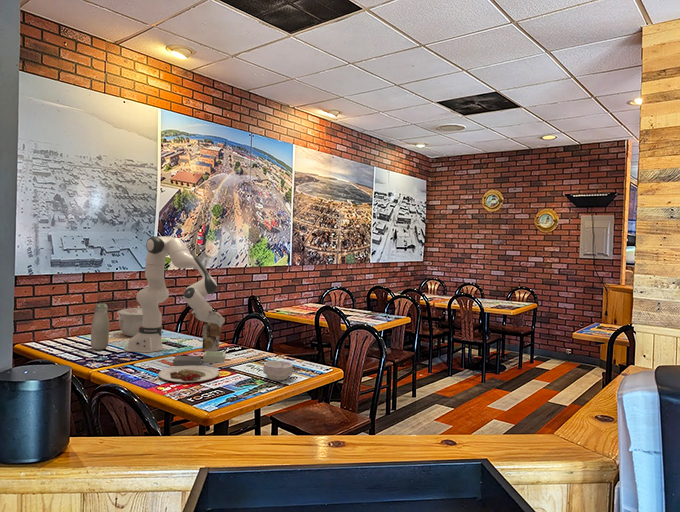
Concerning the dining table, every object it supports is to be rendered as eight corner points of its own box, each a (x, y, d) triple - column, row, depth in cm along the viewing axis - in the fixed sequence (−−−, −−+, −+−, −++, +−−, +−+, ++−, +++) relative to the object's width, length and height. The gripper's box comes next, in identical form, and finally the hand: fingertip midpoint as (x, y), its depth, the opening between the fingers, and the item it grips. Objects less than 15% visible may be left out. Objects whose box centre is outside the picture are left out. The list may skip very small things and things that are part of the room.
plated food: (197, 365, 274) (197, 359, 274) (231, 377, 255) (231, 371, 255) (146, 375, 251) (146, 368, 250) (179, 389, 232) (180, 382, 231)
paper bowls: (296, 376, 262) (296, 361, 262) (286, 384, 248) (287, 368, 247) (269, 373, 266) (269, 358, 266) (258, 380, 251) (259, 365, 251)
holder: (202, 361, 282) (203, 356, 282) (204, 356, 294) (204, 351, 294) (224, 362, 284) (224, 356, 284) (225, 357, 296) (225, 351, 296)
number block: (215, 336, 285) (216, 319, 285) (209, 335, 288) (210, 318, 288) (221, 335, 289) (221, 319, 288) (215, 334, 291) (215, 317, 291)
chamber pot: (131, 340, 325) (132, 309, 325) (107, 334, 340) (108, 305, 340) (167, 335, 349) (168, 306, 348) (143, 329, 364) (144, 302, 363)
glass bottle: (93, 352, 290) (94, 305, 289) (88, 348, 298) (90, 302, 297) (110, 350, 297) (112, 304, 296) (105, 347, 304) (107, 302, 303)
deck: (173, 365, 270) (173, 360, 270) (175, 361, 280) (176, 355, 280) (199, 365, 273) (199, 360, 273) (201, 361, 283) (201, 356, 283)
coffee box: (219, 349, 314) (220, 324, 314) (215, 351, 308) (216, 326, 308) (205, 348, 315) (206, 323, 315) (201, 350, 309) (202, 325, 308)
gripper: (219, 308, 276) (232, 323, 285) (195, 304, 288) (208, 319, 296) (213, 317, 273) (225, 332, 281) (189, 312, 284) (202, 327, 293)
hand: (216, 325), depth 289 cm, fingers closed on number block, 5 cm apart
